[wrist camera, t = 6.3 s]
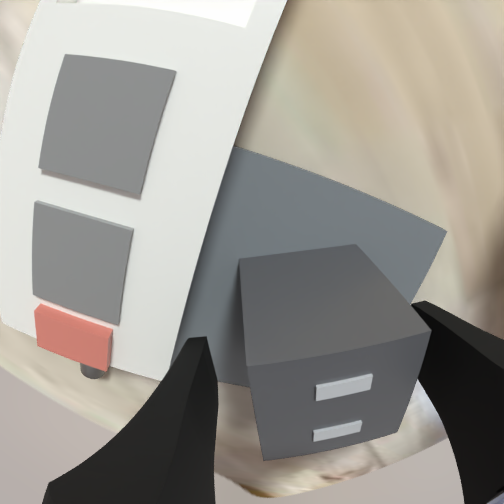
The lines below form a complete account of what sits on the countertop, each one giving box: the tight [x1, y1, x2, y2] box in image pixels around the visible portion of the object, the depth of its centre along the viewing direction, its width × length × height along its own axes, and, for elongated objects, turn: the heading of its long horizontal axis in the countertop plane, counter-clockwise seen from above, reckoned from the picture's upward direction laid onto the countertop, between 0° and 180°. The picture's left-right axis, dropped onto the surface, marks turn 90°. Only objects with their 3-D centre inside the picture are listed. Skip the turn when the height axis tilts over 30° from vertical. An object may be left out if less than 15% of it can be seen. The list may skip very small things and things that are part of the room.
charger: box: [239, 244, 431, 461], centre depth 10 cm, size 4×4×6 cm
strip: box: [0, 0, 287, 381], centre depth 7 cm, size 25×7×4 cm, turn 161°
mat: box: [169, 146, 447, 387], centre depth 13 cm, size 10×10×1 cm
